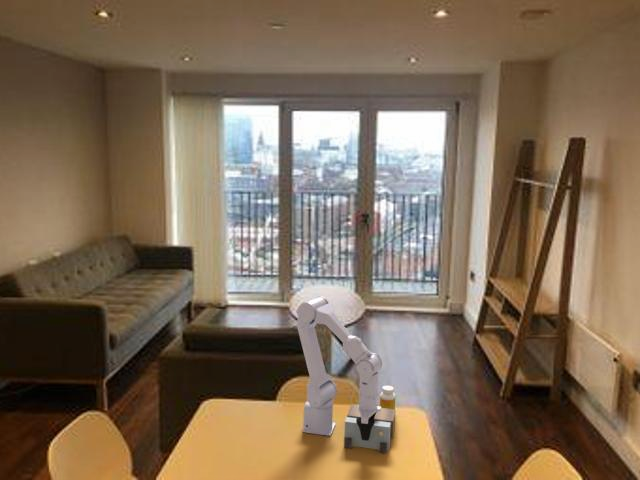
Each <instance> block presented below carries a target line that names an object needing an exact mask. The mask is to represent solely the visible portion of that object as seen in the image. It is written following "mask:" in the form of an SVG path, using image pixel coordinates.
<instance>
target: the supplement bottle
mask: <svg viewBox="0 0 640 480" xmlns="http://www.w3.org/2000/svg"><path fill="white" fill-rule="evenodd" d="M381 391H382V392H380V394H379V406H380V407H381V408H387V409H395V410H396V394H395V392H394V391H395V390H394V387H393V386H391V385H383V386H382V389H381Z"/></svg>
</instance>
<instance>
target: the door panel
mask: <svg viewBox="0 0 640 480" xmlns="http://www.w3.org/2000/svg"><path fill="white" fill-rule="evenodd" d="M356 419H357V418H351V417H347V416H346V418H345V420H344V439H343V445H344V446H345V437H347V438H352V442H351V447H358V448H367V449H372V450H373V449H374V450H379V451H380V442H383V443H387V452H388V451H390V447H391V445H390V444H391V438H390V427H391V423H390V422H382V421H375V423H374V425H373V427H372V429H371V433H370V438H369V441H366V440H362V438H361V433H360V429H359V426H358V424H357V422H356Z"/></svg>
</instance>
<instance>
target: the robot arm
mask: <svg viewBox="0 0 640 480" xmlns="http://www.w3.org/2000/svg"><path fill="white" fill-rule="evenodd" d="M296 315H297V321H296V327H297V332H298V336H299V341H300V343H301V348H302V351H303V355H304V359H305V363H306V367H307V371H308V374H309V380H308V381H307V384H306V392H307V393H306V399H307V401H305V404H304V406H303V418H302V419H303V421H302V423H303V426H302V428H303V429H302V432H303V433H308V434H315V435H321V436H328V437H331V436H332V433H333V432H334V429H335V426H336V422H333V418H334V415H333V414H334V413H333V412H334V409H333V408H334V400H335V399H334V398H335V397H337V395H338V388H337V385H336V384H335V383H334V379H333V377H332V375H330V374H328V373H327V372H326V371H327V370H326V368H325V363H324V360H323V359H324V358H323V355H322V352H321V347H320V344H319V340H318V339H319V338H318V337H317V335H318V334H317V331H316V328H315V327H316V326H317V324H319V325H325V326H326V327H327V328H328V329H329V330H330V331H331V332H332V333H333V334H334V335H335V336H336V337H337V338H338V339H339V340H340V341H341V342H342V349H343V350H344V352H346V354H347V355H348V356H349V358H351V360H352V362H354V364H356V371H357V374H358V375H359V389H358V390H359V391H358V395H359V396H358V404H357V405H358V409H359V412H360V414H361V417H357V419H356V422H357V424H358V426H359V429H360V433H361V438H362V440H366V441H369V438H370V433H371V429H372V427H373V425H374V423H375V420H374V418H375V415H376V412H377V411H381V407H380V405H379V404H378V402H379V401H378V399H379V398H378V396H379V374H380V373H379V371H380V370H381V369H382V367H383V361H382V358H381V357H380V356H379V354H378V353H375V352H372V351H370V350H369V349H368V347H366V345H365V344H364V342H362V338H360V337H358V336H357V335H352V334H350V332H349V331H348V329H347V328H346V326H344V324H343V322H342V321H341V320H340V319H339V317H338V316H337V314H336V313H335V311H334V308H333V305H332V304H331V303H330V302H329V300H328V299H327V298H326V297H324V296H322V295H321V296H316V297H315V298H313V299H311V300H307V301H304V302H302V303H300V304H299V306H298V308H297V309H296Z"/></svg>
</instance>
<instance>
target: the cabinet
mask: <svg viewBox="0 0 640 480" xmlns="http://www.w3.org/2000/svg"><path fill="white" fill-rule="evenodd" d="M358 405H359V404H354V403H351V404H350V407H349V410H348V412H347V414H346V417H351V418H357V417H361V414H360V412H359V409H358ZM396 411H397V410H396V408H395V409H387V408H381V411H377V412H376V415H375V418H374V420H375V421H382V422H390V423H391V427H390V439H394V431H395V427H396ZM351 442H352V438H347V437H345V445H344V449H352V446H351ZM387 452H388V451H387V443H383V442H380V450H379V453H380V454H385V455H386V454H387Z"/></svg>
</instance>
